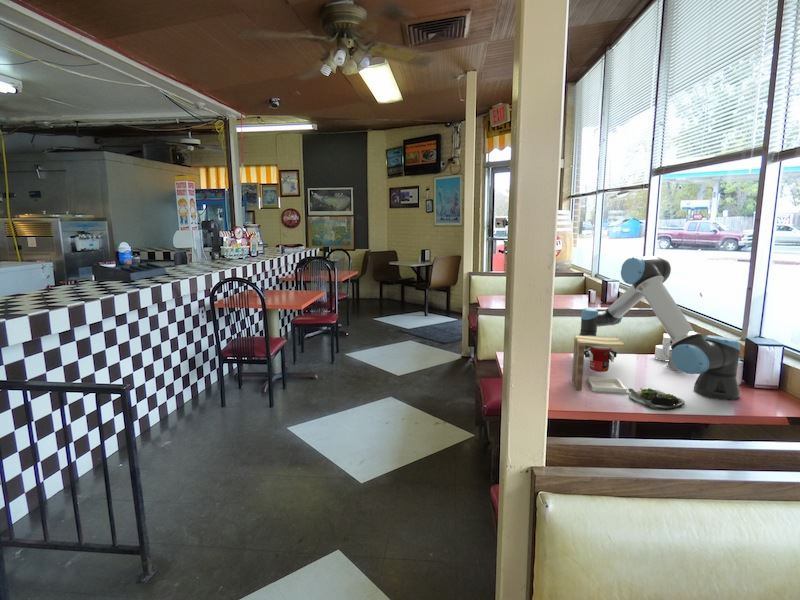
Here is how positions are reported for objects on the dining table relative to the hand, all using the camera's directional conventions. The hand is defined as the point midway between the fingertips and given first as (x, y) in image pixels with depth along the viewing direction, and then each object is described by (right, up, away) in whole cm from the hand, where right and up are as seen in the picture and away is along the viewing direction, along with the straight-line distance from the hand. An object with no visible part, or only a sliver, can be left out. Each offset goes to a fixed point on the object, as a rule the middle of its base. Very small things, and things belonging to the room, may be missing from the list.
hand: (602, 358), depth 196 cm
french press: (+42, -7, +17) cm, 46 cm away
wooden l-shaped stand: (-5, -11, -5) cm, 13 cm away
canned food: (+1, -6, +6) cm, 8 cm away
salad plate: (+11, -14, -22) cm, 28 cm away
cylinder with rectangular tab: (+46, -4, +32) cm, 56 cm away
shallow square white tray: (-2, -11, -6) cm, 13 cm away
